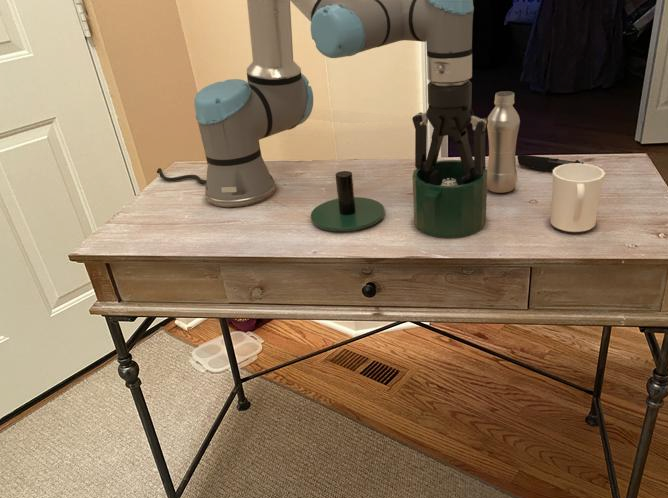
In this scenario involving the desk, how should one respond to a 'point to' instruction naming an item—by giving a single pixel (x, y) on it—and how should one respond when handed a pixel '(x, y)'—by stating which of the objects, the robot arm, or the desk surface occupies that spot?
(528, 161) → the electric trimmer
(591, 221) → the mug
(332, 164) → the desk surface
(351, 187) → the lid
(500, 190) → the silver metal bottle
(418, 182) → the pot
